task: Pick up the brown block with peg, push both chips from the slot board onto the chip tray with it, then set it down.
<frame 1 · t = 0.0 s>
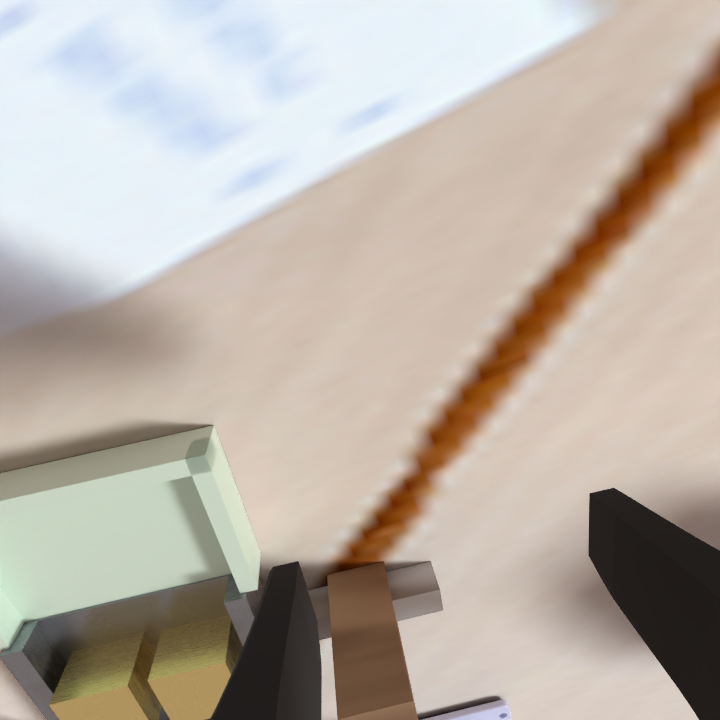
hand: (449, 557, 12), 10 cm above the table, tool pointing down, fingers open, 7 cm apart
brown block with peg: (360, 588, 26), on the table
chip tray: (109, 523, 22), on the table
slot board: (176, 650, 26), on the table
chip a: (207, 645, 25), point 1 cm above the table, touching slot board
chip b: (121, 665, 25), point 1 cm above the table, touching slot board
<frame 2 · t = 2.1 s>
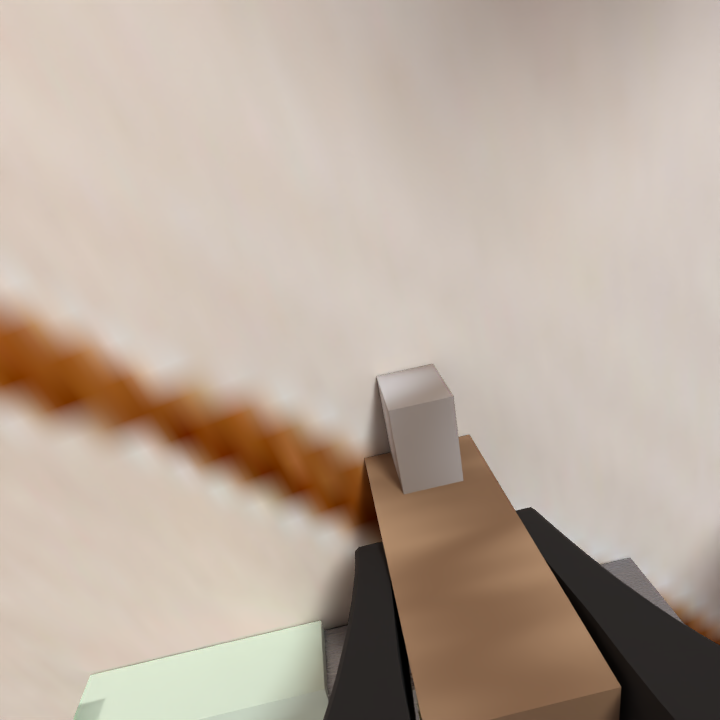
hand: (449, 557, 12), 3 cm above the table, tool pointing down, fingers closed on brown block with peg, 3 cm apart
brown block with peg: (423, 488, 14), on the table, touching gripper
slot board: (490, 694, 19), on the table
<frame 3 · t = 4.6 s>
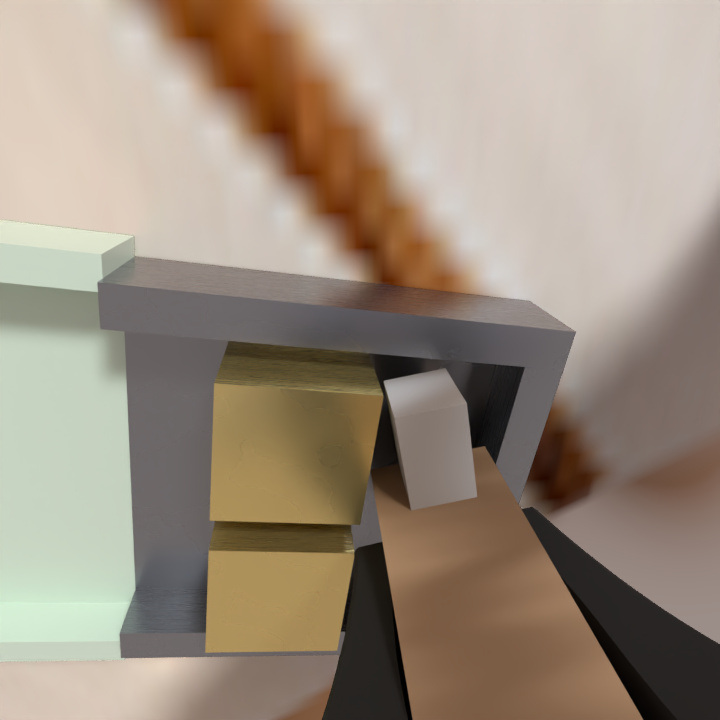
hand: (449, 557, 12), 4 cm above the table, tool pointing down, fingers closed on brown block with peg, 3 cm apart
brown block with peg: (434, 503, 13), point 2 cm above the table, touching gripper, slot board
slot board: (321, 455, 15), on the table
chip a: (293, 405, 13), point 1 cm above the table, touching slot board
chip b: (280, 533, 15), point 1 cm above the table, touching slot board
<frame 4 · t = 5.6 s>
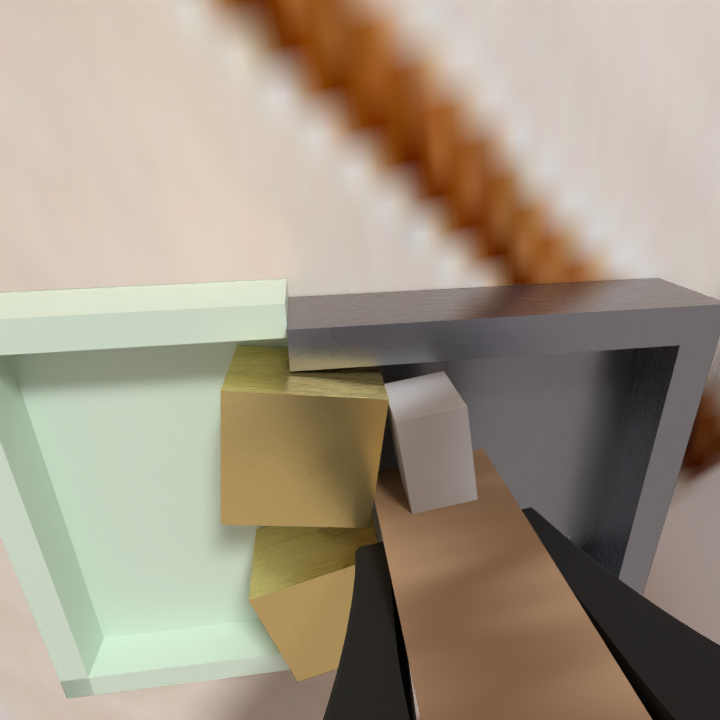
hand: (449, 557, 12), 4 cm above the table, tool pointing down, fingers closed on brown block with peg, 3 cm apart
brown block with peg: (433, 506, 13), point 2 cm above the table, touching gripper
chip tray: (177, 480, 15), on the table
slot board: (466, 454, 16), on the table
chip a: (303, 409, 13), point 1 cm above the table, touching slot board
chip b: (330, 551, 15), point 1 cm above the table
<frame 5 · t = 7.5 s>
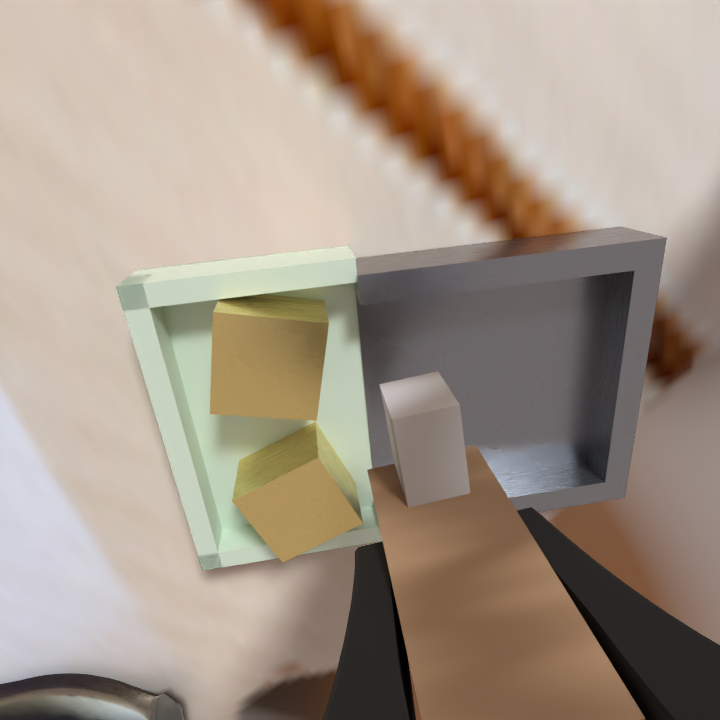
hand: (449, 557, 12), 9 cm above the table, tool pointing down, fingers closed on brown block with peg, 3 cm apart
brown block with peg: (428, 501, 14), point 7 cm above the table, touching gripper
chip tray: (272, 404, 20), on the table
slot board: (486, 374, 21), on the table
chip a: (271, 341, 18), point 1 cm above the table, touching chip tray
chip b: (298, 471, 20), point 1 cm above the table, touching chip tray
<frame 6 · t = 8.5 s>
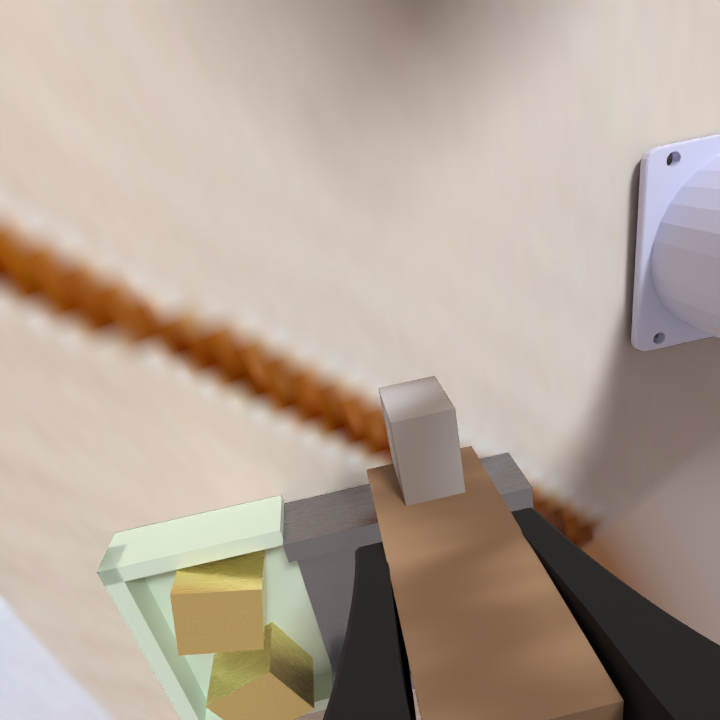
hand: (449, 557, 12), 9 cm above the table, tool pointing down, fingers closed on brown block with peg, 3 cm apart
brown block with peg: (426, 500, 14), point 7 cm above the table, touching gripper
chip tray: (237, 605, 24), on the table
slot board: (413, 564, 25), on the table
chip a: (226, 574, 22), point 1 cm above the table, touching chip tray
chip b: (264, 656, 25), point 1 cm above the table, touching chip tray
when the fingers open (4 cm above the table, at t = 9.6 s): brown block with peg stays where it is, on the table.
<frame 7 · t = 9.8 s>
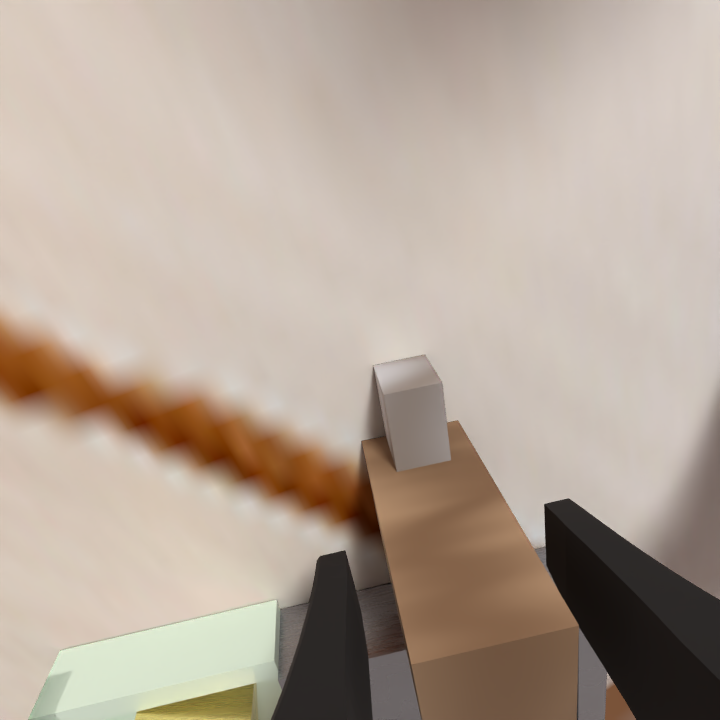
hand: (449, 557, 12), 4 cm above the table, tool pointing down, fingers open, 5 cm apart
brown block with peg: (416, 470, 15), on the table
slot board: (443, 672, 20), on the table
chip a: (206, 700, 17), point 1 cm above the table, touching chip tray
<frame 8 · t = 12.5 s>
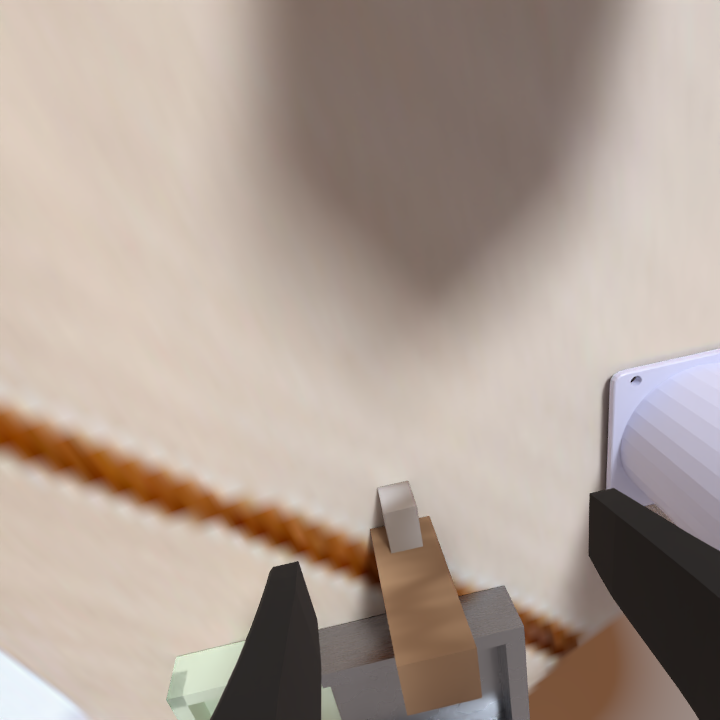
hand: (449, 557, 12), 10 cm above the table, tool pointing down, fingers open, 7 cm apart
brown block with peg: (403, 544, 25), on the table
chip tray: (274, 707, 29), on the table
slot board: (424, 671, 29), on the table
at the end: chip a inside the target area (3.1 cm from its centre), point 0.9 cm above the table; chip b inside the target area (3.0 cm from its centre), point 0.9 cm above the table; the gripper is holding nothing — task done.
